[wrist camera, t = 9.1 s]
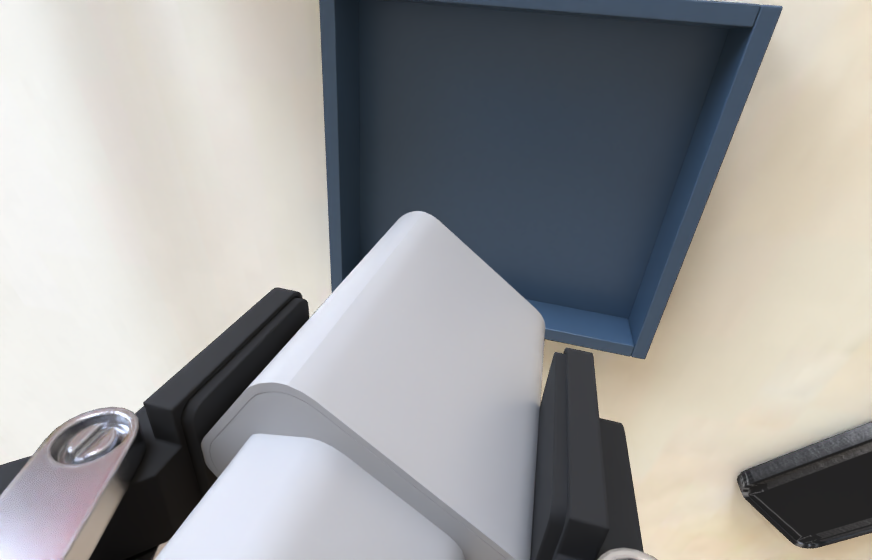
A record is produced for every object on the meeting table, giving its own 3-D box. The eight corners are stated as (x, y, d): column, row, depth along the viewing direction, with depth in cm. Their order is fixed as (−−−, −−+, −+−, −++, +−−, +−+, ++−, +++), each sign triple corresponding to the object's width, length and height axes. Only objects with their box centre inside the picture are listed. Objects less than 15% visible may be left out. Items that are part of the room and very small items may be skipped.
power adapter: (416, 199, 12) (-365, 1064, 2) (556, 327, 13) (535, 1424, 3) (354, 269, 14) (-259, 955, 3) (483, 380, 15) (293, 1204, 4)
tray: (751, 10, 21) (784, 6, 17) (636, 326, 29) (645, 360, 26) (349, -20, 24) (317, -28, 21) (353, 271, 33) (331, 295, 30)
